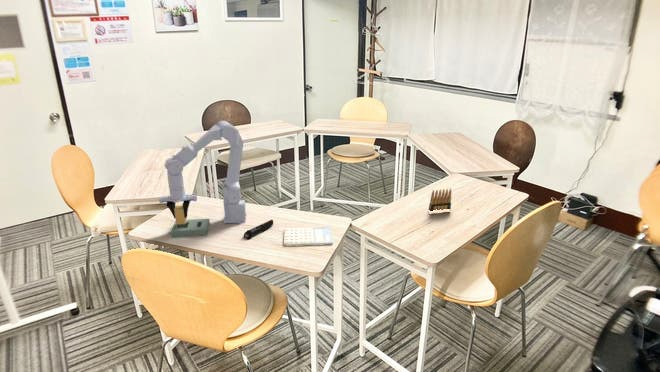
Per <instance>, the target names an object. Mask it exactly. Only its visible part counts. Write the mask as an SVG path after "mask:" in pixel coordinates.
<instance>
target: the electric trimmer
mask: <svg viewBox="0 0 660 372" xmlns="http://www.w3.org/2000/svg"><path fill="white" fill-rule="evenodd" d="M273 226H274V220H273V219H270V220H268V221H266V222H264V223H261V224H259V225H257V226H255V227H252V228H250V229H248V230H246V231H245V232H244V234H243V239H246V240H251V238H252V237H254V236H256V235H257V234H259V233H261V232H265V231H267V230H268V229H269V228H271V227H273Z"/></svg>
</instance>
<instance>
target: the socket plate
mask: <svg viewBox="0 0 660 372" xmlns="http://www.w3.org/2000/svg"><path fill="white" fill-rule="evenodd" d="M210 224H211V223H210V218H195V219H187V221H186V224H176V220H175V221H174V224H173V225H172V228H171V230H170V234H171V235H170V236H171V238H173V237H176V238H177V237H188V236H189V237H191V236H192V237H193V236H205V235H208V232H209V229H210Z"/></svg>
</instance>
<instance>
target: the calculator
mask: <svg viewBox="0 0 660 372" xmlns="http://www.w3.org/2000/svg"><path fill="white" fill-rule="evenodd" d="M283 235H284V237H283V246H284V245H285V246H284V247H302V246H301V245H312V246H321V245H320V244H333V245H334V241H335V240H334V236H333V230H332V228H331V227H329V226H327V227H324V226H323V227H293V228H292V227H289V228H287V227H286V228H284V234H283Z"/></svg>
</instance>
